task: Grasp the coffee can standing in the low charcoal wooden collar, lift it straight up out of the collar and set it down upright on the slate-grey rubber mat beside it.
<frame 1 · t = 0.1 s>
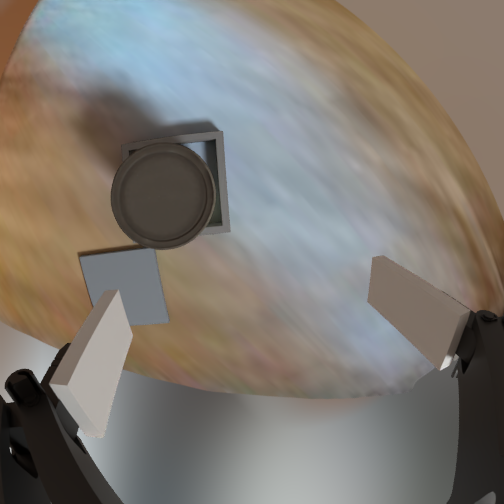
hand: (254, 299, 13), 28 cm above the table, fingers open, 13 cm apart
coffee can: (176, 185, 37), resting in collar
collar: (176, 186, 37), on the table
slate mat: (124, 289, 40), on the table
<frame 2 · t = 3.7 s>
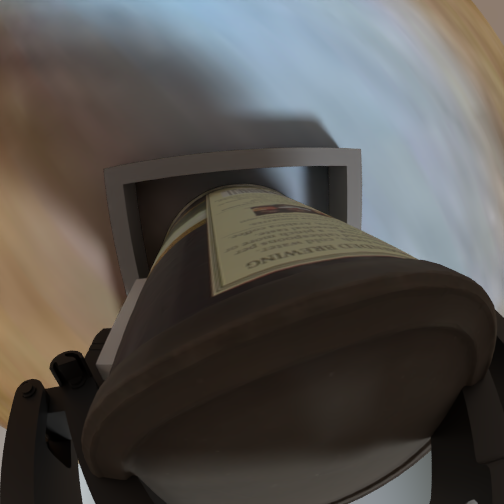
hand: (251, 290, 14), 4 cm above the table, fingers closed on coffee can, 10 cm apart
coffee can: (241, 263, 18), resting in collar, touching gripper
collar: (241, 264, 17), on the table
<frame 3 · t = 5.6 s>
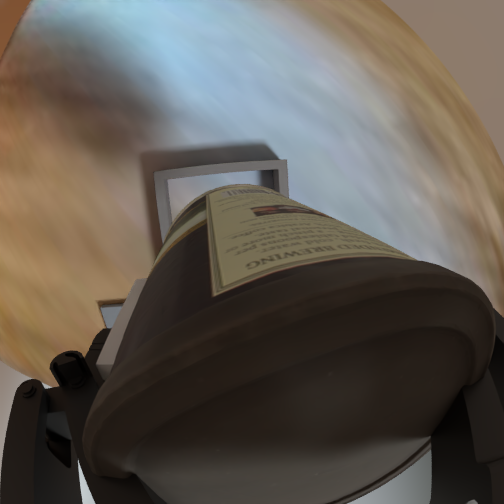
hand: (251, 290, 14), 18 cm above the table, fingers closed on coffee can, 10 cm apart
coffee can: (241, 263, 18), point 14 cm above the table, touching gripper
collar: (224, 224, 31), on the table
slate mat: (157, 342, 34), on the table
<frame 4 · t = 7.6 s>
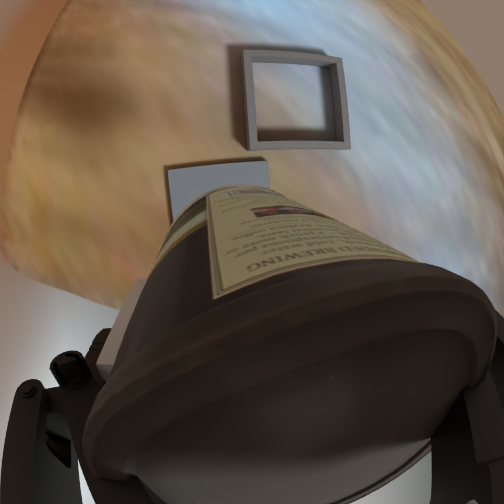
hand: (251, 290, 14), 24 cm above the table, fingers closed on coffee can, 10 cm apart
coffee can: (241, 264, 18), point 20 cm above the table, touching gripper
collar: (294, 101, 33), on the table
slate mat: (221, 212, 36), on the table
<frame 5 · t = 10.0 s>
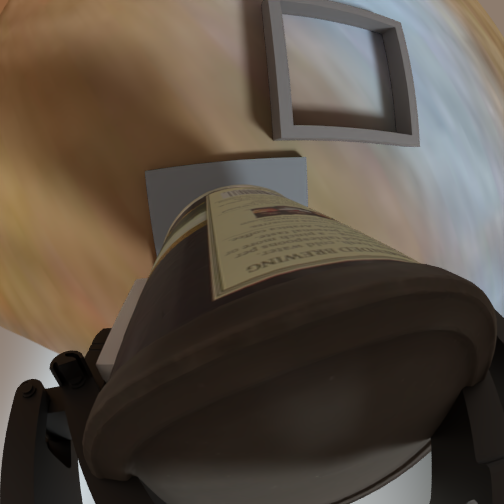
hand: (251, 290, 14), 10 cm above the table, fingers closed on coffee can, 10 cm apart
coffee can: (241, 264, 18), point 6 cm above the table, touching gripper
collar: (341, 71, 20), on the table
slate mat: (232, 238, 23), on the table
when the fingers open (6 cm above the table, at t = 11.9 s): coffee can drops 1 cm, resting on slate mat.
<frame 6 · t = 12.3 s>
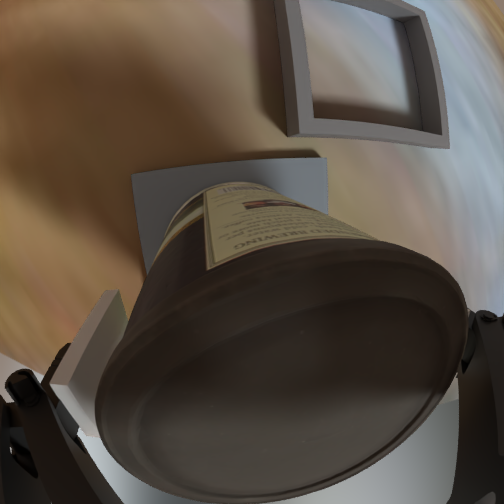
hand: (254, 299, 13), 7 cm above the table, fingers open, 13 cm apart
coffee can: (238, 256, 19), point 1 cm above the table, touching slate mat
collar: (363, 59, 16), on the table
slate mat: (237, 254, 19), on the table
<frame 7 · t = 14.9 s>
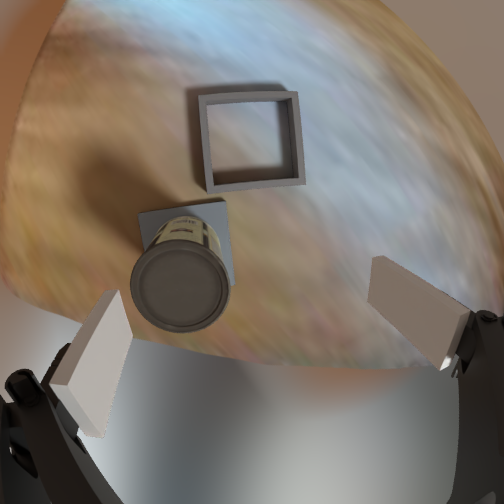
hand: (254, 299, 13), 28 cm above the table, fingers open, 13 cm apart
coffee can: (186, 249, 40), point 1 cm above the table, touching slate mat
collar: (250, 140, 37), on the table
slate mat: (187, 249, 40), on the table
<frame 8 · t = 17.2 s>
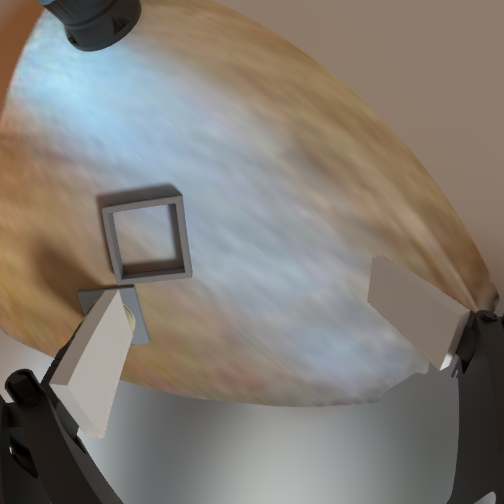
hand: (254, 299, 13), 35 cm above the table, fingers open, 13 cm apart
coffee can: (112, 318, 48), point 1 cm above the table, touching slate mat
collar: (148, 239, 45), on the table
slate mat: (113, 317, 49), on the table
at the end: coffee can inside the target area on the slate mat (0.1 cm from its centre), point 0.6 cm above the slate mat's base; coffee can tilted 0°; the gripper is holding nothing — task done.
